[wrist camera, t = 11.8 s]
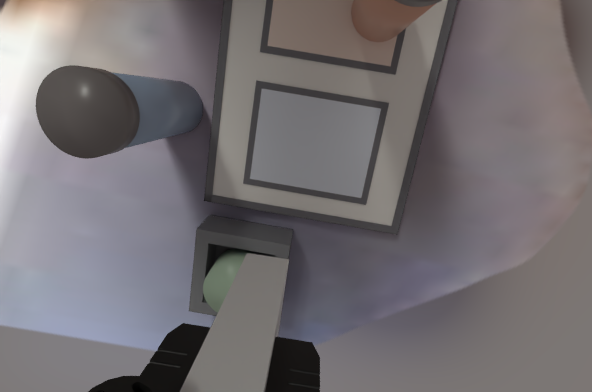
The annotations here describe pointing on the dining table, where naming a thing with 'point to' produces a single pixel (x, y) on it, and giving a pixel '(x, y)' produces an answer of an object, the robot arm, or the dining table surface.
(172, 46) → the dining table surface
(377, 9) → the terracotta marker
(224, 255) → the button
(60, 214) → the dining table surface
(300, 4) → the picture sheet
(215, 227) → the button base
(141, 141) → the slate blue marker
